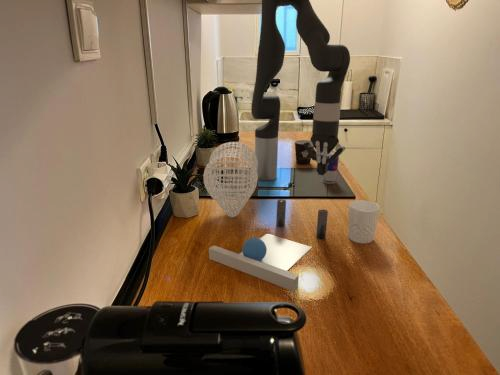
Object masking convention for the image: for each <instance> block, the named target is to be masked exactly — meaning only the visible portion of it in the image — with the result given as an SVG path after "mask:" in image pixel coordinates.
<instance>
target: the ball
mask: <svg viewBox="0 0 500 375" xmlns="http://www.w3.org/2000/svg"><path fill="white" fill-rule="evenodd" d="M242 251H243V255H244V256H246V257H248V258H251V259H254V260H257V261H261V260H262V259H263V258H264V257H265V255H266V245H265V243H264V242H263V241H262V240H260V238H258V237H251V238H248V239H247V240H246V241H245V242H244V244H243V245H242V250H241V252H242Z"/></svg>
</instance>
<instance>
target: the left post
mask: <svg viewBox="0 0 500 375" xmlns="http://www.w3.org/2000/svg"><path fill="white" fill-rule="evenodd" d="M286 204H287V201H286V200H285V199H283V198H282V199H277V201H276V218H275V219H276V221H275V222H276V227H277V228H281V229H282V228H285V227H286V211H287V210H286V209H287V208H286V206H287V205H286Z"/></svg>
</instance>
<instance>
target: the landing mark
mask: <svg viewBox="0 0 500 375" xmlns="http://www.w3.org/2000/svg"><path fill="white" fill-rule="evenodd" d="M259 239H260V240H262V241H263V242H264V243H265V245H266V255H265V257H264V258H263V259H262V260H261V261H259V262H262V263H265V264H268V265H271V266H273V267H276V268H279V269H282V270H285V271H287V272H289V270H290V269H292V268H293V266H294V265H296V263H298V261H300V259H302V258H303V257H304V256H305V255H306V254H307V253H308V252H309V251H311V249H312V247H313V246H310V245H306V244H303V243H300V242H297V241H292V240H290V239H286V238H283V237H280V236H277V235H273V234H269V233H266V234H264V235H263V236H262V237H259ZM239 254H240V255H243V251H242V250H241V252H239ZM243 256H244V255H243Z"/></svg>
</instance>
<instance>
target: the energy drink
mask: <svg viewBox="0 0 500 375" xmlns="http://www.w3.org/2000/svg"><path fill="white" fill-rule="evenodd" d="M335 152H336V151H333V150H332V151H331V154H330V157H331V156H332V155H333V154H334V153H335ZM339 156H340V155H339ZM339 156H338V157H337V158H336V159H335V160H334V161H333V162H331V163H328V168H327V173H325V175H322V182H323V183H324V184H327V185H334V184H336V183H337V179H338V168H339ZM330 157H329V158H330Z"/></svg>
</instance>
